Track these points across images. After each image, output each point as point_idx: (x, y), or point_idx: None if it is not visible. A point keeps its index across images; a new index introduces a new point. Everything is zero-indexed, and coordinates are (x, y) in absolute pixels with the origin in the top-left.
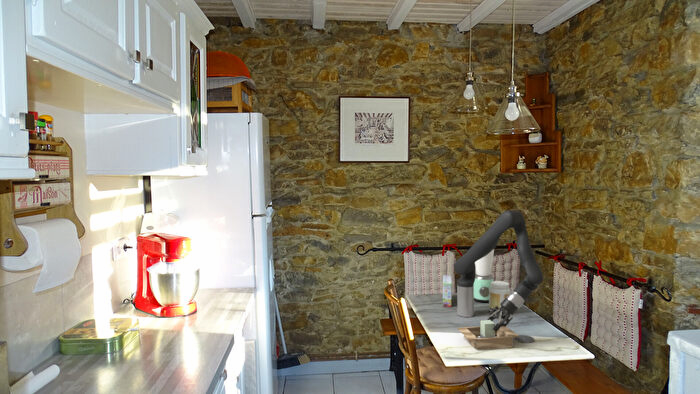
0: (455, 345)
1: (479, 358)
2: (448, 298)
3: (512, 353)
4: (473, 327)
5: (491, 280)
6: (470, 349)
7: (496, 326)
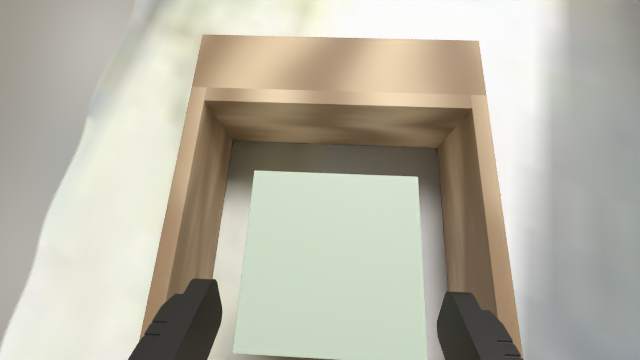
0: None
1: (107, 92)
2: None
3: (72, 351)
4: (479, 179)
5: None
6: None
7: (168, 336)
